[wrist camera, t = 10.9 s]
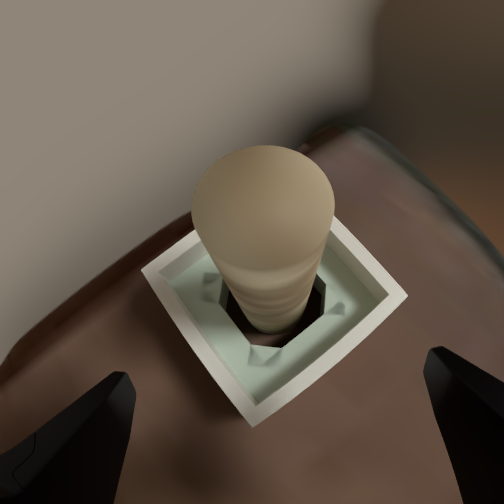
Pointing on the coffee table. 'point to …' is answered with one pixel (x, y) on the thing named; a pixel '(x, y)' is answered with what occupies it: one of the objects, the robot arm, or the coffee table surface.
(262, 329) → the peg
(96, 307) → the coffee table surface
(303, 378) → the bore box
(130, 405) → the robot arm
